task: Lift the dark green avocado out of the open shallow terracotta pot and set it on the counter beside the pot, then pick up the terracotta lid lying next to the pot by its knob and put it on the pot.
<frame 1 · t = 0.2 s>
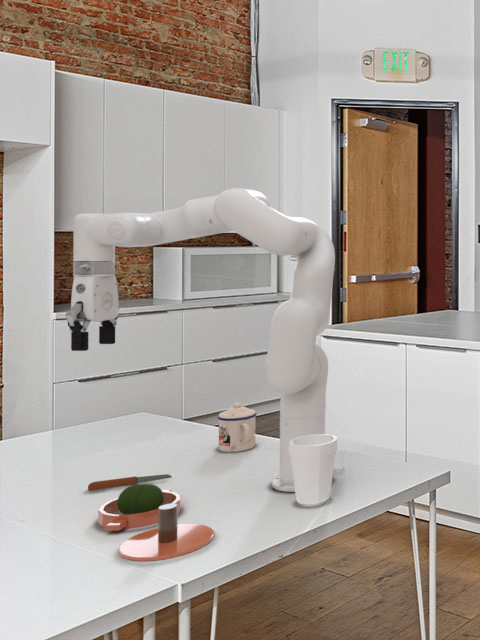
hand: (93, 347, 162), 31 cm above the table, tool pointing down, fingers open, 9 cm apart
teacup with lid: (239, 449, 192), on the table
avocado: (140, 515, 145), resting on pot
foam cup: (313, 502, 154), on the table
lid: (167, 543, 132), point 1 cm above the table
pot: (140, 517, 145), on the table
kitchen knife: (131, 487, 163), on the table
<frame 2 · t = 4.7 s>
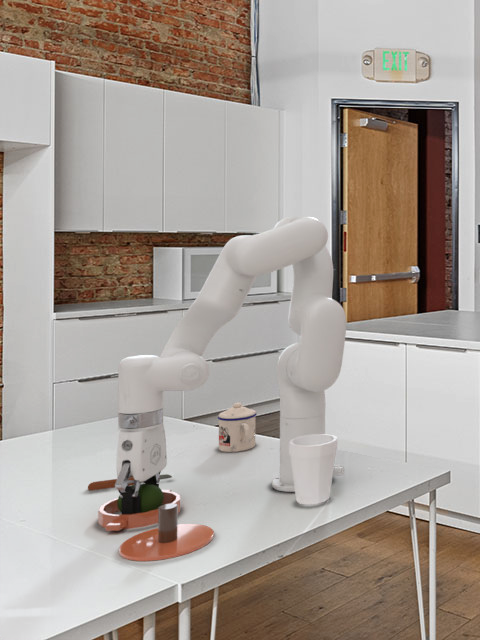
hand: (140, 509, 145), 2 cm above the table, tool pointing down, fingers closed on avocado, 6 cm apart
avocado: (140, 515, 145), point 1 cm above the table, touching gripper, pot
everything else where it was.
when the fingers open (1 cm above the table, at t = 11.8 s): avocado stays where it is, on the table.
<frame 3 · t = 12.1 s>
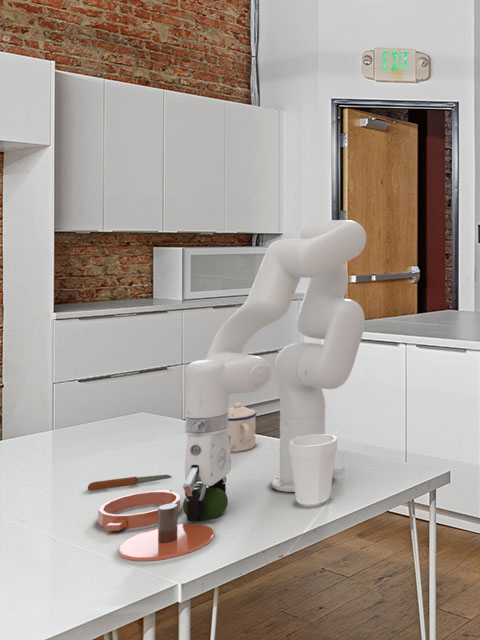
hand: (207, 511, 145), 1 cm above the table, tool pointing down, fingers open, 8 cm apart
avocado: (205, 518, 144), on the table
everything else where it was.
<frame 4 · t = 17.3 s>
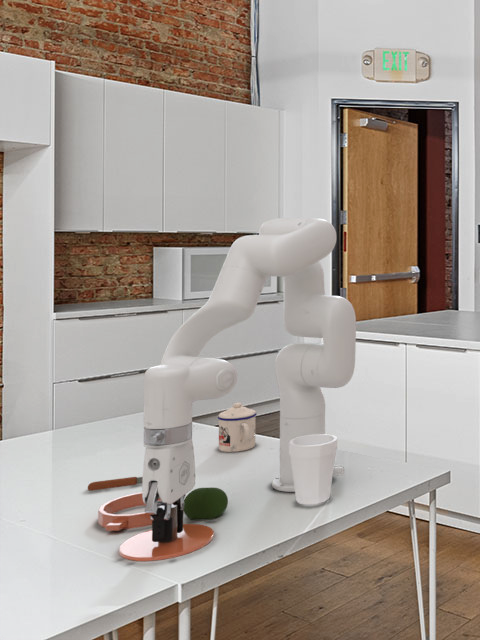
hand: (167, 535, 132), 2 cm above the table, tool pointing down, fingers closed on lid, 3 cm apart
lid: (167, 543, 132), point 1 cm above the table, touching gripper
everything else where it was.
when the fingers open (4 cm above the table, at t = 24.6 s): lid stays where it is, resting on pot.
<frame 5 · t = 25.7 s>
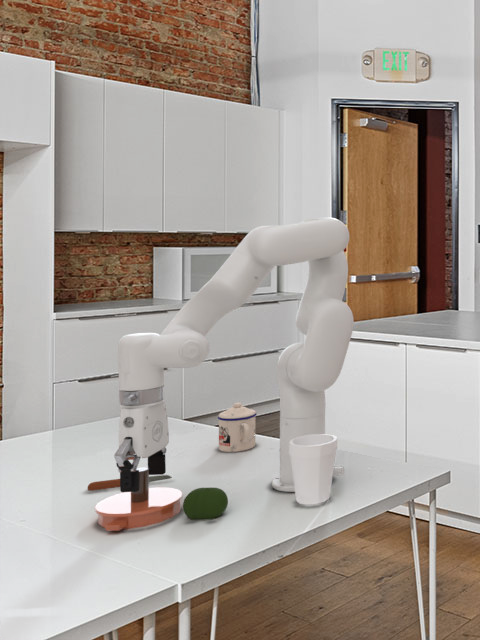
hand: (143, 482, 145), 7 cm above the table, tool pointing down, fingers open, 9 cm apart
lid: (139, 502, 145), point 3 cm above the table, touching pot
everything else where it was.
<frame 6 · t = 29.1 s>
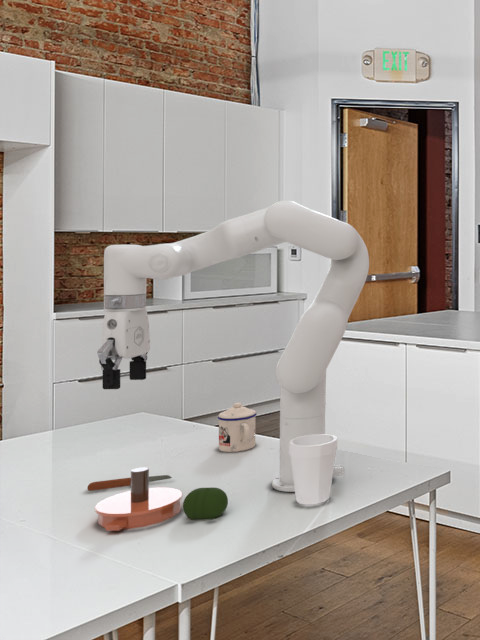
hand: (125, 384, 155), 24 cm above the table, tool pointing down, fingers open, 9 cm apart
nothing on the table moved.
at the end: avocado inside the target area (0.2 cm from its centre), on the table; lid 0.1 cm off-centre on the pot, point 3.0 cm above the pot's base; lid tilted 0° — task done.
